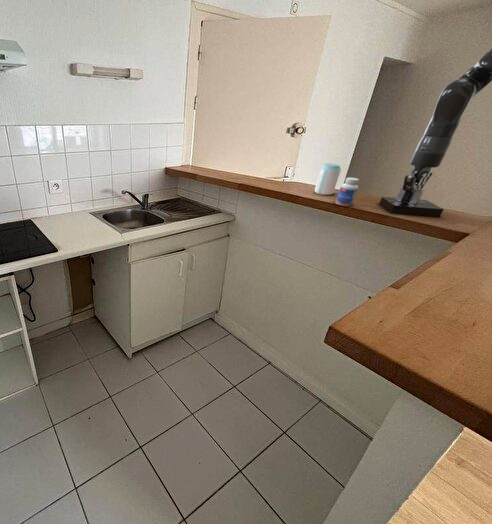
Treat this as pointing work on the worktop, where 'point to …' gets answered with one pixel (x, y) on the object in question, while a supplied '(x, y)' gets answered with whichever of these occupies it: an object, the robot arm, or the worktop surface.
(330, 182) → the can
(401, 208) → the base
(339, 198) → the pill bottle
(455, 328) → the worktop surface
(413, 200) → the tap handle
